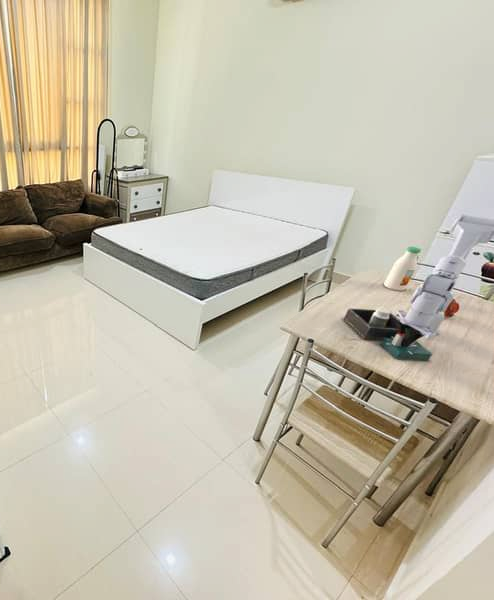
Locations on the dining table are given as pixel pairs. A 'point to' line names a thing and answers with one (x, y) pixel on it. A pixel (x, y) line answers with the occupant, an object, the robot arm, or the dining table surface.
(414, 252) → the milk bottle
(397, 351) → the teal flat box
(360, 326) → the dark open box
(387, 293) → the dining table surface
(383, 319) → the pill bottle
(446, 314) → the dragon fruit
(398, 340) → the white rectangular block
